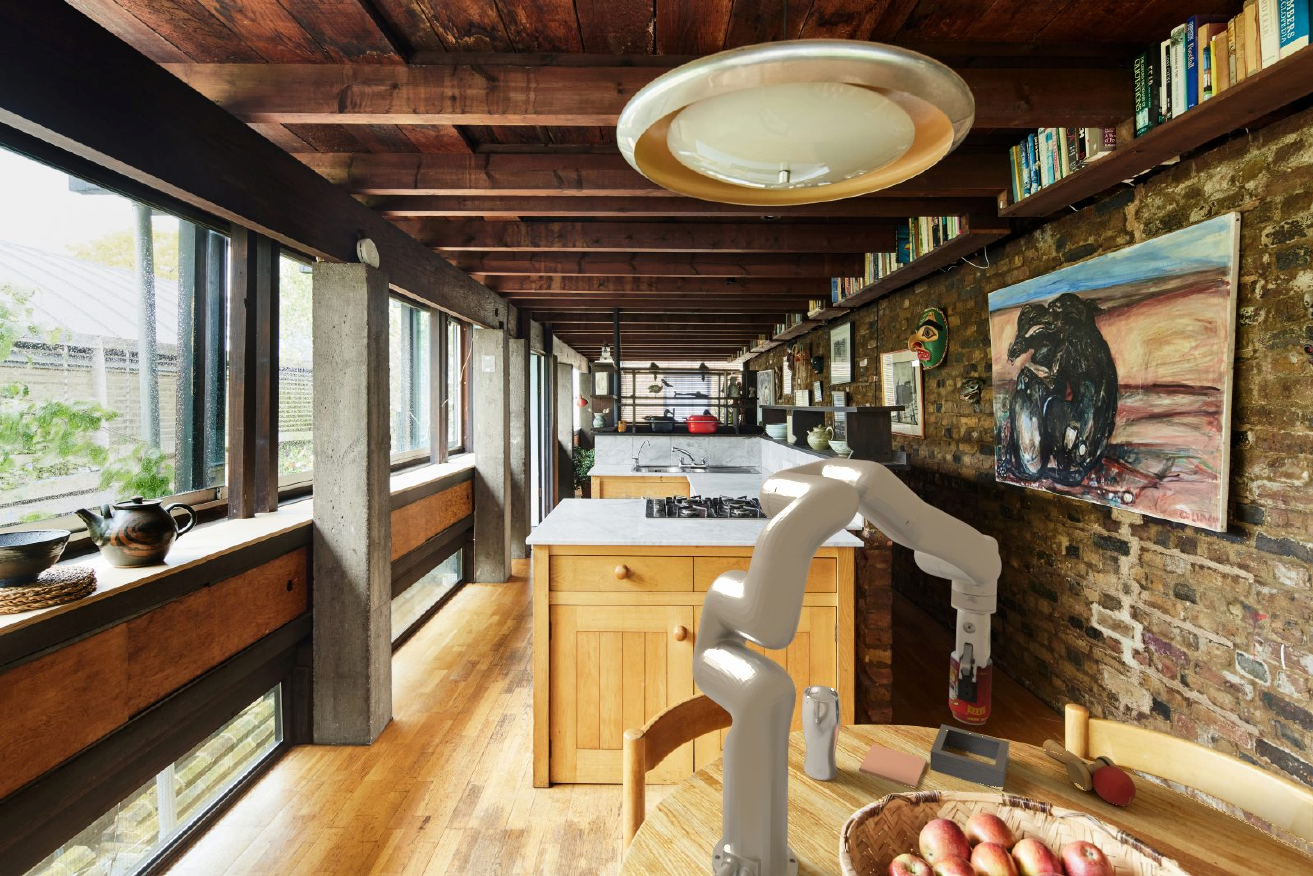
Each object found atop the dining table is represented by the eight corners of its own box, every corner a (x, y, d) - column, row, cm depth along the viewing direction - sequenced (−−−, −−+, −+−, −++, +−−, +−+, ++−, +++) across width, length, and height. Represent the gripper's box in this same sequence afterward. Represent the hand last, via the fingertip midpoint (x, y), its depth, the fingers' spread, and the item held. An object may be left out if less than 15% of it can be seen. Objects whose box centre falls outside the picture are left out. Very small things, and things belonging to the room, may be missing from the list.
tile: (915, 789, 110) (915, 786, 110) (858, 771, 115) (859, 768, 115) (926, 762, 118) (926, 759, 118) (873, 746, 124) (873, 743, 124)
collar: (1003, 791, 109) (1003, 772, 109) (930, 769, 116) (930, 751, 116) (1008, 759, 119) (1009, 741, 119) (941, 740, 126) (941, 724, 126)
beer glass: (844, 782, 112) (845, 702, 111) (805, 782, 112) (806, 701, 111) (834, 760, 119) (835, 684, 118) (797, 760, 119) (798, 684, 118)
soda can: (941, 708, 120) (943, 646, 120) (976, 708, 120) (979, 646, 120) (960, 727, 113) (963, 661, 113) (998, 727, 113) (1001, 661, 113)
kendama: (1028, 763, 120) (1105, 809, 103) (1031, 729, 121) (1108, 770, 103) (1064, 768, 121) (1147, 815, 103) (1067, 734, 122) (1150, 775, 104)
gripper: (991, 616, 107) (987, 717, 107) (1000, 593, 121) (997, 682, 122) (943, 608, 111) (940, 705, 111) (958, 586, 125) (955, 672, 126)
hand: (970, 692), depth 117 cm, fingers closed on soda can, 7 cm apart
